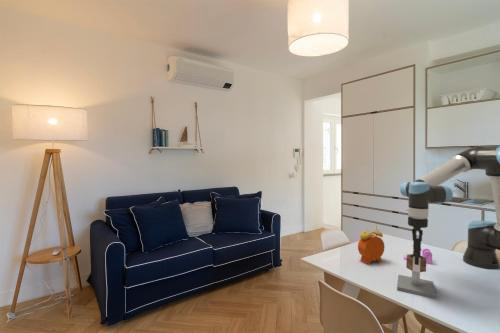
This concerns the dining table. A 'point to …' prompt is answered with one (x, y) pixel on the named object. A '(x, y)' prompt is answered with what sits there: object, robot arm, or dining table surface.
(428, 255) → the bracket
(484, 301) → the dining table surface
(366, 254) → the alarm clock
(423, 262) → the collar
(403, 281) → the post
